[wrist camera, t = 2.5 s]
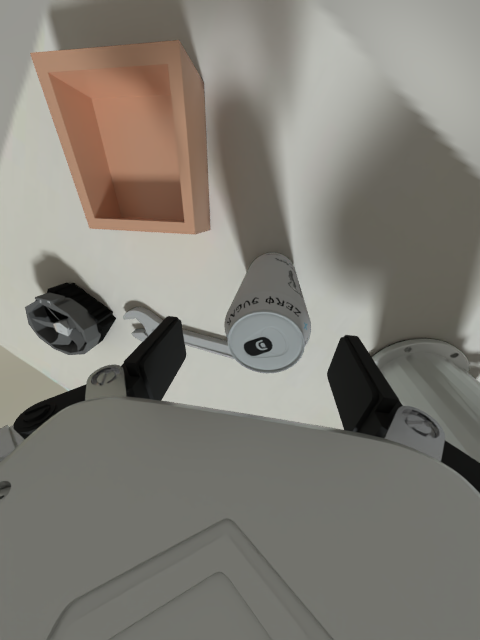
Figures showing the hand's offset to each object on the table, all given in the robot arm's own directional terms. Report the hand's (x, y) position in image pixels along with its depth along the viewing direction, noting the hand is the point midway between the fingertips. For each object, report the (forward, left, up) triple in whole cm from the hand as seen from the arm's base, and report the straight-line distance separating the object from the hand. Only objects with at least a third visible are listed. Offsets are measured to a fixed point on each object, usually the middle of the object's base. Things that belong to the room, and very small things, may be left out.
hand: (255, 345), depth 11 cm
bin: (+13, -11, -16) cm, 23 cm away
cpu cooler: (+31, +10, -16) cm, 37 cm away
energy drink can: (-1, 0, -16) cm, 16 cm away
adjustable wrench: (+11, +13, -16) cm, 23 cm away
